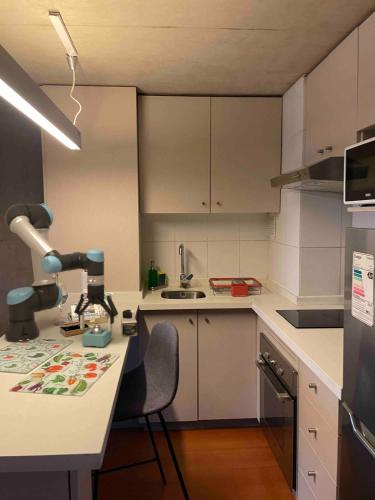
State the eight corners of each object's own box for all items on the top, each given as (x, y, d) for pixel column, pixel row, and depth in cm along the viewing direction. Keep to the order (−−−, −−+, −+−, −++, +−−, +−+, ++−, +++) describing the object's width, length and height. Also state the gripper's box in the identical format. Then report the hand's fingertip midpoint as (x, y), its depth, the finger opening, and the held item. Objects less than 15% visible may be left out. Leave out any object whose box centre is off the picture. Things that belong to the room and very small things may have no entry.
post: (85, 346, 167) (85, 327, 166) (93, 340, 174) (92, 322, 174) (102, 347, 165) (101, 328, 164) (109, 341, 173) (108, 323, 172)
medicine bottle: (122, 337, 178) (121, 312, 177) (121, 332, 185) (120, 309, 184) (137, 335, 180) (136, 311, 179) (135, 331, 187) (134, 308, 186)
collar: (82, 345, 166) (82, 334, 165) (91, 338, 176) (91, 327, 175) (103, 346, 164) (103, 336, 164) (111, 339, 174) (111, 328, 173)
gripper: (66, 284, 165) (67, 330, 168) (119, 287, 161) (119, 334, 164) (73, 280, 173) (74, 324, 175) (125, 283, 169) (125, 328, 171)
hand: (96, 329), depth 169 cm, fingers open, 13 cm apart
